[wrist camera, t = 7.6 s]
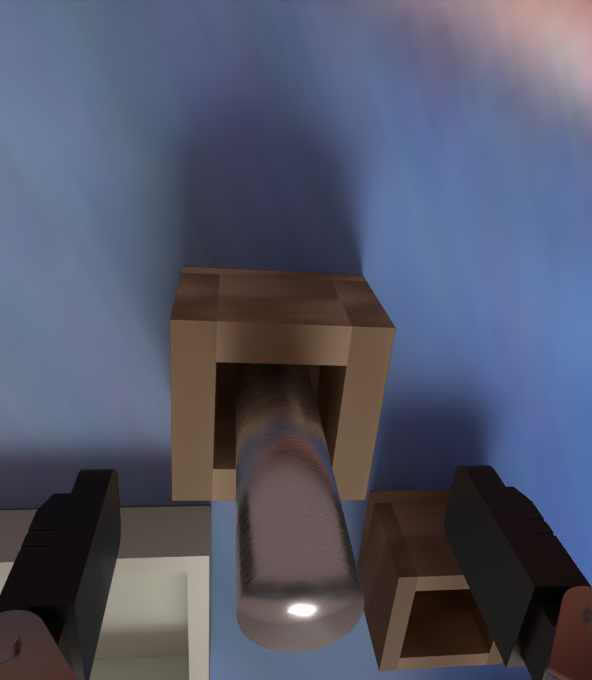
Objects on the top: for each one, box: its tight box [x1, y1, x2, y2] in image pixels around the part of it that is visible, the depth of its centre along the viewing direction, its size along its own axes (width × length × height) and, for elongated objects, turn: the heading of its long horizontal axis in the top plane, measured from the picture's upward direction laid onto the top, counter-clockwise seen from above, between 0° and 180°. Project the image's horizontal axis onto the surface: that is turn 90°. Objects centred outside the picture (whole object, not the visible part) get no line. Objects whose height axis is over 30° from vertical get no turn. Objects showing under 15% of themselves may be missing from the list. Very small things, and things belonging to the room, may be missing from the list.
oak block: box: [170, 267, 396, 501], centre depth 18 cm, size 6×6×4 cm
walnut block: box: [357, 490, 503, 671], centre depth 23 cm, size 5×5×4 cm
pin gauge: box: [235, 363, 364, 652], centre depth 15 cm, size 2×2×10 cm
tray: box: [0, 506, 211, 680], centre depth 23 cm, size 12×9×3 cm
